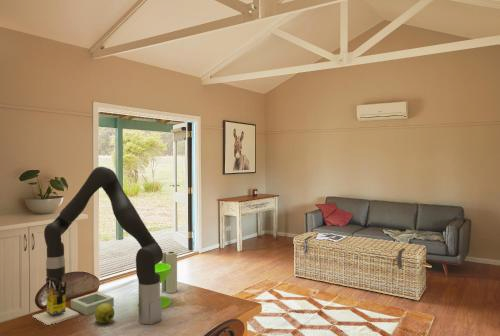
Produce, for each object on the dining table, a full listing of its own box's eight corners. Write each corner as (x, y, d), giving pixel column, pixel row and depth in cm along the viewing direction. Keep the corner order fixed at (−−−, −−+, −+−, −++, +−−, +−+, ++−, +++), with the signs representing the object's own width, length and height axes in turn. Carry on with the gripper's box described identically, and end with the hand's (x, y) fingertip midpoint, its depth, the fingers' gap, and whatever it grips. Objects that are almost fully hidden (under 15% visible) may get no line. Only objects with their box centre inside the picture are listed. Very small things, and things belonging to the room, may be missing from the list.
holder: (113, 305, 184) (113, 297, 184) (86, 315, 172) (86, 306, 172) (97, 299, 192) (97, 291, 192) (70, 308, 181) (70, 299, 181)
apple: (107, 316, 171) (107, 299, 171) (118, 322, 166) (118, 304, 165) (90, 322, 165) (90, 304, 165) (101, 328, 160) (101, 309, 159)
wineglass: (175, 298, 194) (174, 263, 193) (164, 310, 178) (164, 273, 177) (144, 297, 195) (144, 262, 195) (132, 309, 180) (132, 271, 179)
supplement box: (52, 316, 167) (52, 291, 167) (46, 312, 170) (46, 288, 170) (66, 311, 172) (65, 288, 171) (59, 308, 175) (59, 285, 175)
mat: (79, 315, 173) (79, 313, 172) (47, 326, 161) (47, 323, 161) (63, 308, 181) (63, 305, 181) (32, 317, 170) (32, 315, 170)
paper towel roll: (179, 290, 206) (178, 251, 205) (173, 294, 200) (173, 254, 199) (167, 289, 207) (167, 250, 207) (161, 292, 202) (161, 253, 201)
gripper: (72, 266, 169) (72, 303, 170) (56, 261, 178) (56, 296, 178) (55, 270, 163) (55, 308, 164) (39, 264, 172) (40, 301, 172)
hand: (56, 302), depth 171 cm, fingers closed on supplement box, 6 cm apart
